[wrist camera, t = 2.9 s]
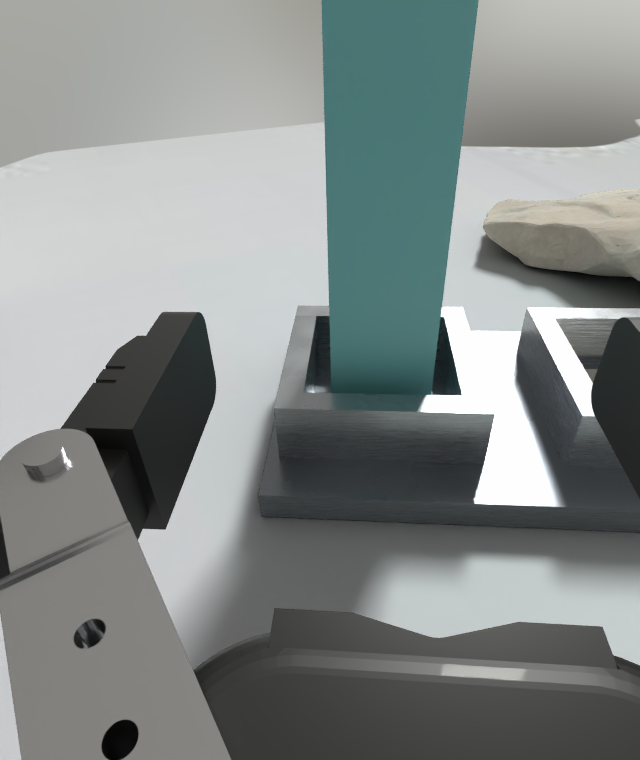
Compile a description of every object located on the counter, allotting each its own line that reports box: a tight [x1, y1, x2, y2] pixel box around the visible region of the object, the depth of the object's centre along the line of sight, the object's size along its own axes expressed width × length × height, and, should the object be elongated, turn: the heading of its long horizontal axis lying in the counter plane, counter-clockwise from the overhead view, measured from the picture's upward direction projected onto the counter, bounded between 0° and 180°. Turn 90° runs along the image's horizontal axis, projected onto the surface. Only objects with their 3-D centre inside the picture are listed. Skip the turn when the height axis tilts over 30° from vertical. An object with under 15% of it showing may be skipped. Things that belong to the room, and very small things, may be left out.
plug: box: [322, 0, 478, 395], centre depth 19 cm, size 4×4×17 cm
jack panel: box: [258, 306, 640, 532], centre depth 23 cm, size 20×12×4 cm, turn 86°
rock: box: [483, 189, 640, 281], centre depth 37 cm, size 21×5×15 cm
